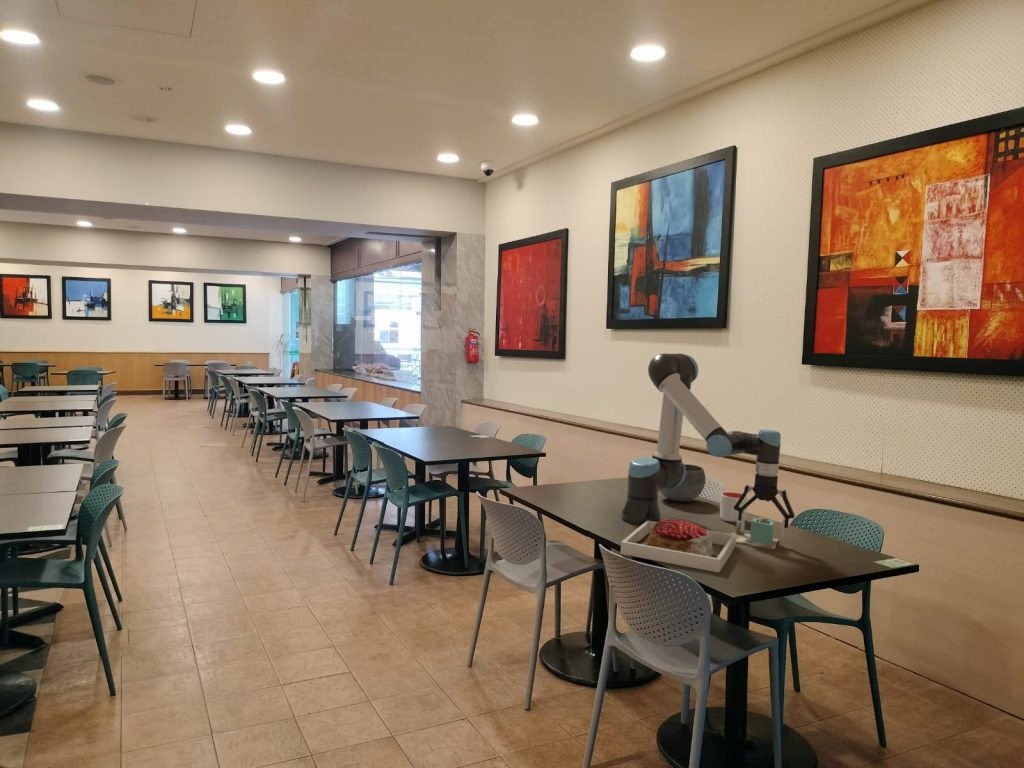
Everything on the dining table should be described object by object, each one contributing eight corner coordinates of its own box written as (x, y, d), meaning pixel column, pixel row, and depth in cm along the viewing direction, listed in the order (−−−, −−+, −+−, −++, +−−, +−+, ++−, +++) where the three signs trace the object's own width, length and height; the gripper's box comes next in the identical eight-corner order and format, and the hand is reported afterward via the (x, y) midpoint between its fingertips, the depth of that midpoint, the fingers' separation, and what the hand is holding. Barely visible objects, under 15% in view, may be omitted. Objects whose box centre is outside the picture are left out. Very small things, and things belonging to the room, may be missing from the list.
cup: (747, 524, 274) (749, 499, 273) (720, 522, 276) (722, 496, 275) (744, 518, 284) (745, 493, 283) (718, 515, 285) (720, 491, 285)
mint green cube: (749, 541, 249) (751, 522, 248) (752, 536, 255) (754, 517, 254) (770, 545, 246) (772, 525, 245) (773, 540, 252) (774, 520, 251)
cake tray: (620, 553, 230) (621, 541, 230) (646, 531, 258) (647, 520, 258) (719, 572, 216) (720, 559, 216) (735, 546, 244) (736, 535, 244)
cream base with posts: (726, 541, 250) (728, 517, 249) (732, 533, 260) (733, 510, 260) (774, 549, 243) (776, 525, 242) (778, 540, 253) (780, 517, 253)
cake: (628, 542, 244) (630, 514, 243) (695, 542, 248) (697, 514, 247) (651, 564, 221) (653, 533, 220) (724, 564, 225) (727, 533, 224)
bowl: (709, 499, 312) (712, 466, 311) (694, 509, 294) (697, 473, 293) (664, 492, 323) (666, 459, 322) (647, 500, 306) (649, 466, 304)
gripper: (728, 471, 250) (724, 529, 252) (804, 480, 239) (799, 542, 241) (731, 467, 257) (727, 525, 259) (805, 477, 246) (800, 536, 248)
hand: (762, 533), depth 250 cm, fingers open, 13 cm apart
